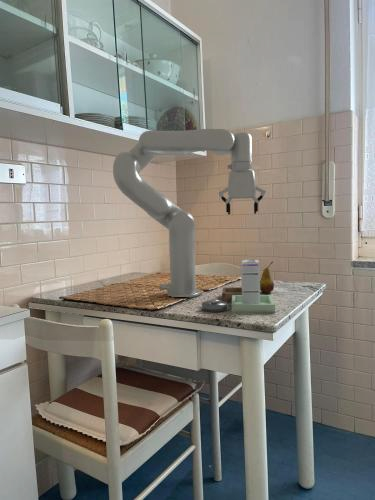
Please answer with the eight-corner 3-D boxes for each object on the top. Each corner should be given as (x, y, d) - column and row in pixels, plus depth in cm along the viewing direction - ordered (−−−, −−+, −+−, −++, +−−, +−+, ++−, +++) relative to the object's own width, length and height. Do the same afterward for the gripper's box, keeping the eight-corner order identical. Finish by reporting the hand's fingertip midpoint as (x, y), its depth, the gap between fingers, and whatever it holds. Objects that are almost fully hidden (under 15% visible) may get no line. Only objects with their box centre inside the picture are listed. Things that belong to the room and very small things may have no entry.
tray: (231, 312, 116) (231, 304, 116) (232, 302, 129) (232, 295, 129) (274, 312, 115) (274, 304, 114) (271, 302, 127) (271, 295, 127)
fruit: (268, 290, 146) (268, 259, 145) (276, 293, 141) (276, 261, 140) (255, 291, 145) (255, 260, 143) (263, 294, 139) (263, 262, 138)
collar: (222, 301, 130) (222, 293, 130) (223, 295, 140) (223, 287, 140) (251, 301, 129) (251, 293, 128) (250, 295, 139) (250, 287, 138)
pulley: (200, 312, 117) (200, 303, 117) (203, 306, 125) (203, 297, 125) (226, 312, 116) (226, 303, 116) (227, 306, 124) (227, 297, 124)
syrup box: (260, 307, 119) (260, 261, 117) (241, 307, 120) (241, 262, 118) (259, 303, 124) (259, 259, 123) (241, 303, 125) (241, 259, 124)
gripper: (217, 167, 138) (218, 214, 140) (265, 165, 135) (265, 213, 137) (219, 169, 145) (220, 214, 147) (265, 167, 142) (265, 213, 144)
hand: (242, 214), depth 142 cm, fingers open, 9 cm apart
